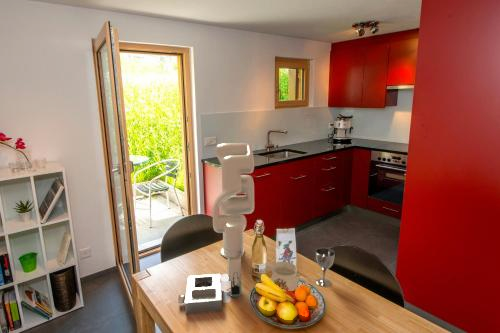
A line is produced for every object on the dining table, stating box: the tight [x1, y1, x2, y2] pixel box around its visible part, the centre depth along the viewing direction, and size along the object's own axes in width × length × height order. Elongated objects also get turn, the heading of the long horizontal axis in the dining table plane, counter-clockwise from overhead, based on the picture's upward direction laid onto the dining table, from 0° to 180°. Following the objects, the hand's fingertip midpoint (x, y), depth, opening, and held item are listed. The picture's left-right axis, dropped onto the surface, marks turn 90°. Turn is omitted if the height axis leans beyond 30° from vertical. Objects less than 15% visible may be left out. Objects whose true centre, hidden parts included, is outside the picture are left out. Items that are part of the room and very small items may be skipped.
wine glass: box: [315, 247, 336, 288], centre depth 138 cm, size 8×8×15 cm
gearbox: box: [178, 273, 223, 315], centre depth 129 cm, size 18×17×8 cm
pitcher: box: [265, 261, 309, 291], centre depth 128 cm, size 11×18×14 cm, turn 67°
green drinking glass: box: [231, 277, 242, 298], centre depth 131 cm, size 5×5×10 cm
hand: (235, 289), depth 132 cm, fingers closed on green drinking glass, 5 cm apart
